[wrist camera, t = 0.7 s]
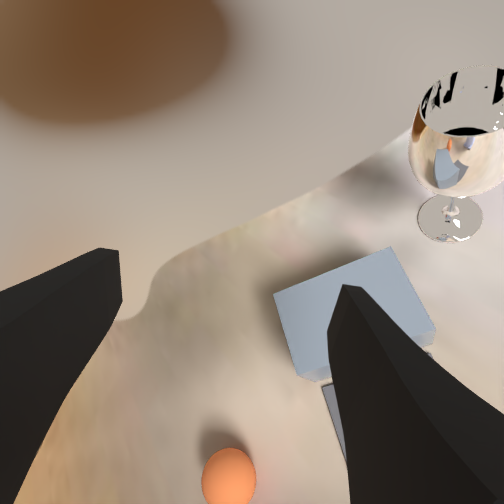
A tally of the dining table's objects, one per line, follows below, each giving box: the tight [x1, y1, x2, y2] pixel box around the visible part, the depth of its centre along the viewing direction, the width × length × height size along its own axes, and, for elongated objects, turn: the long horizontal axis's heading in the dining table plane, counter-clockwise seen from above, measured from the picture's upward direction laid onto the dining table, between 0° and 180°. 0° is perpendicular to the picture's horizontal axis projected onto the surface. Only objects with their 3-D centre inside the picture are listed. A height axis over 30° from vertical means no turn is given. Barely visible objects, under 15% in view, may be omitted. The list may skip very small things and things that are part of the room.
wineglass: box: [408, 66, 504, 243], centre depth 22 cm, size 6×6×12 cm
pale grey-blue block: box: [273, 246, 436, 382], centre depth 24 cm, size 9×6×5 cm
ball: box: [202, 448, 256, 504], centre depth 23 cm, size 4×4×4 cm
